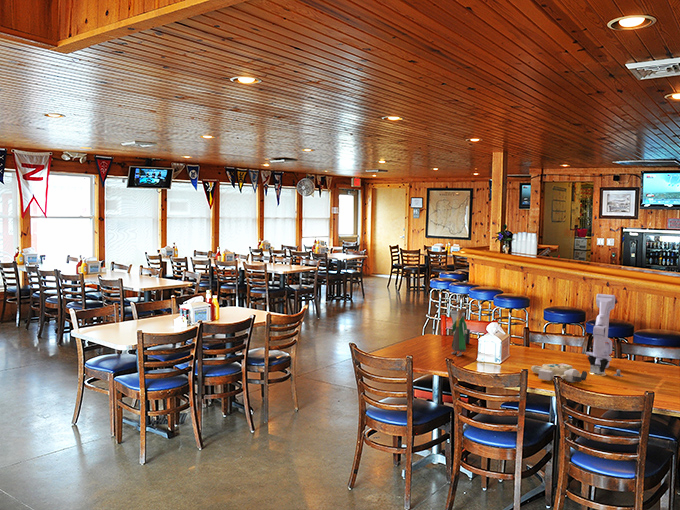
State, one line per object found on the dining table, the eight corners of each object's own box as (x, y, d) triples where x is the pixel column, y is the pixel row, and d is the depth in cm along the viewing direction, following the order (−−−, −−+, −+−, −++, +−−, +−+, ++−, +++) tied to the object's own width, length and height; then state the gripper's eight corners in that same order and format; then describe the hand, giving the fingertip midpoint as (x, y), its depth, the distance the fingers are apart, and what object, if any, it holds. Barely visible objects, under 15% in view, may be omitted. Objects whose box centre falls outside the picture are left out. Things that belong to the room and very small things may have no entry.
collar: (596, 370, 332) (596, 363, 332) (604, 372, 327) (605, 365, 327) (590, 371, 329) (590, 364, 329) (598, 374, 325) (599, 367, 324)
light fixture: (446, 346, 395) (448, 310, 393) (454, 341, 410) (455, 307, 409) (462, 348, 390) (463, 312, 388) (469, 343, 405) (471, 308, 404)
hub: (590, 372, 335) (591, 365, 334) (607, 375, 329) (608, 368, 329) (586, 375, 328) (587, 368, 327) (604, 378, 322) (604, 371, 322)
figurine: (446, 352, 376) (448, 306, 374) (455, 351, 380) (457, 305, 378) (462, 358, 362) (464, 310, 360) (471, 357, 365) (473, 309, 363)
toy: (578, 374, 301) (522, 363, 320) (577, 389, 302) (521, 378, 321) (593, 365, 321) (539, 355, 340) (592, 379, 321) (538, 369, 340)
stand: (614, 375, 329) (615, 368, 329) (623, 376, 326) (623, 369, 326) (613, 377, 325) (613, 370, 325) (621, 378, 323) (622, 371, 322)
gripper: (583, 344, 331) (581, 368, 332) (606, 350, 319) (605, 374, 320) (590, 343, 335) (589, 367, 336) (614, 349, 323) (612, 373, 324)
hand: (597, 370), depth 328 cm, fingers closed on collar, 5 cm apart
